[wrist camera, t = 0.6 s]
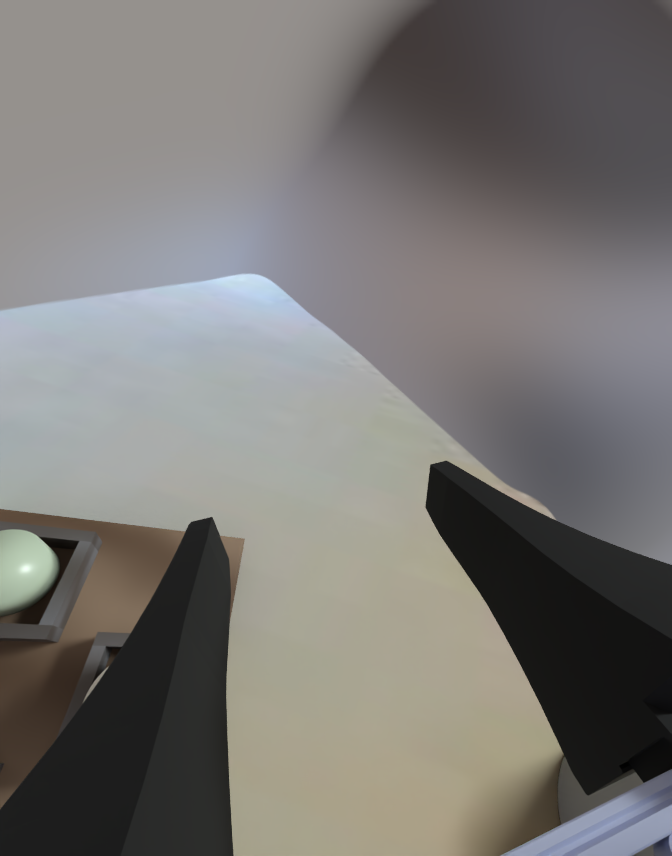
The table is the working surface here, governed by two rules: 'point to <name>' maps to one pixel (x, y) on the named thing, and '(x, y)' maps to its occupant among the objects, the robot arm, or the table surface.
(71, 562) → the key panel
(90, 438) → the table surface
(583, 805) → the coffee mug
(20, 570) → the sage key
